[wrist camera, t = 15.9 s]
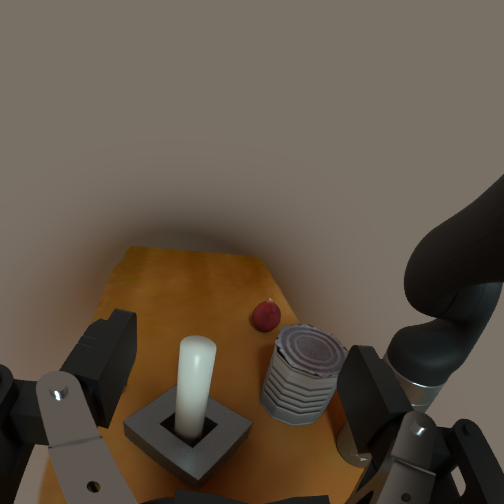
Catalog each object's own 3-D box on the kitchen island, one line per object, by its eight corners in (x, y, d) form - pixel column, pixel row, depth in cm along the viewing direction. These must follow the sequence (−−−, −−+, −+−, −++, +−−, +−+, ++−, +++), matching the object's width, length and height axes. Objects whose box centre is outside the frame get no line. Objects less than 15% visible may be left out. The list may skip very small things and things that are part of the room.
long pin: (185, 424, 37) (196, 331, 31) (205, 438, 36) (223, 347, 30) (168, 438, 34) (172, 344, 28) (189, 453, 32) (201, 363, 27)
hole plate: (182, 395, 42) (183, 379, 41) (248, 436, 37) (252, 422, 36) (125, 435, 32) (122, 421, 31) (196, 491, 27) (198, 480, 26)
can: (298, 372, 53) (317, 318, 49) (338, 411, 45) (366, 358, 41) (245, 387, 47) (261, 330, 43) (284, 436, 38) (310, 381, 34)
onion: (276, 326, 67) (285, 295, 64) (275, 341, 62) (285, 308, 59) (251, 320, 67) (258, 289, 65) (248, 335, 62) (256, 302, 59)
